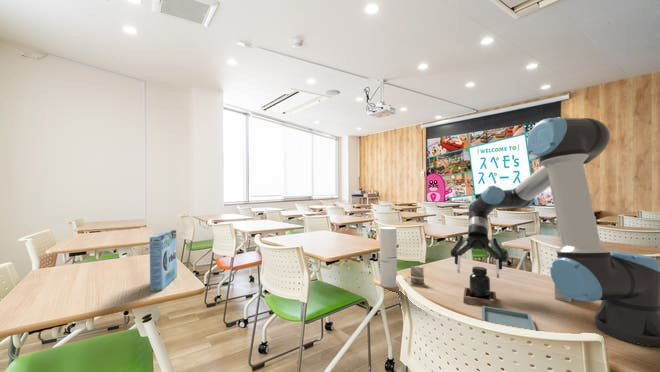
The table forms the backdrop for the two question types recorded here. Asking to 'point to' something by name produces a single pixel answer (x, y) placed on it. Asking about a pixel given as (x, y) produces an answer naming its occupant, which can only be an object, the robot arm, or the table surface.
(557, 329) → the table surface
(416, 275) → the architectural model
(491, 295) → the frame
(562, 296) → the ink box
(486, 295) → the supplement bottle
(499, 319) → the tray
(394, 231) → the cylindrical container
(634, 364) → the table surface
